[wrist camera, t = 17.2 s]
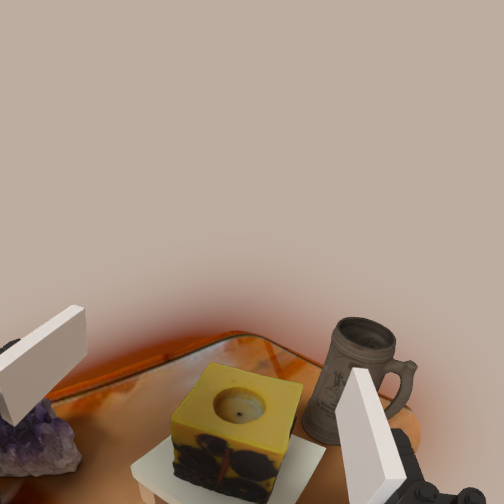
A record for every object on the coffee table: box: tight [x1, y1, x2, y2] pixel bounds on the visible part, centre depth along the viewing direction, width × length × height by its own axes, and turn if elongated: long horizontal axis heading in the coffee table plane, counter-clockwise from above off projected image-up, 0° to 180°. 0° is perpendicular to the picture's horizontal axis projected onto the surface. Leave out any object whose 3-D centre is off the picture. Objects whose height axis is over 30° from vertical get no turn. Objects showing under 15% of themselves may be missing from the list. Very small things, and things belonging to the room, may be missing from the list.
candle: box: [170, 362, 304, 504], centre depth 28 cm, size 10×10×10 cm
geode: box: [0, 398, 83, 477], centre depth 26 cm, size 20×12×10 cm, turn 127°
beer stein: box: [302, 317, 418, 445], centre depth 44 cm, size 15×10×20 cm
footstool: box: [130, 434, 326, 504], centre depth 30 cm, size 16×16×9 cm
